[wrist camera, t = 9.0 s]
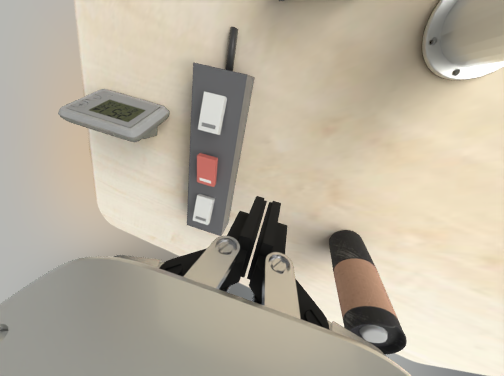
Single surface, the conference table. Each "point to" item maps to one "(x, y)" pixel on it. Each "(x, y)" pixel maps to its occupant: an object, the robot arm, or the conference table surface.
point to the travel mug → (363, 294)
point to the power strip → (218, 136)
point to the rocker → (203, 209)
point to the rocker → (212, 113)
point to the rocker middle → (207, 169)
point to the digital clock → (116, 115)
